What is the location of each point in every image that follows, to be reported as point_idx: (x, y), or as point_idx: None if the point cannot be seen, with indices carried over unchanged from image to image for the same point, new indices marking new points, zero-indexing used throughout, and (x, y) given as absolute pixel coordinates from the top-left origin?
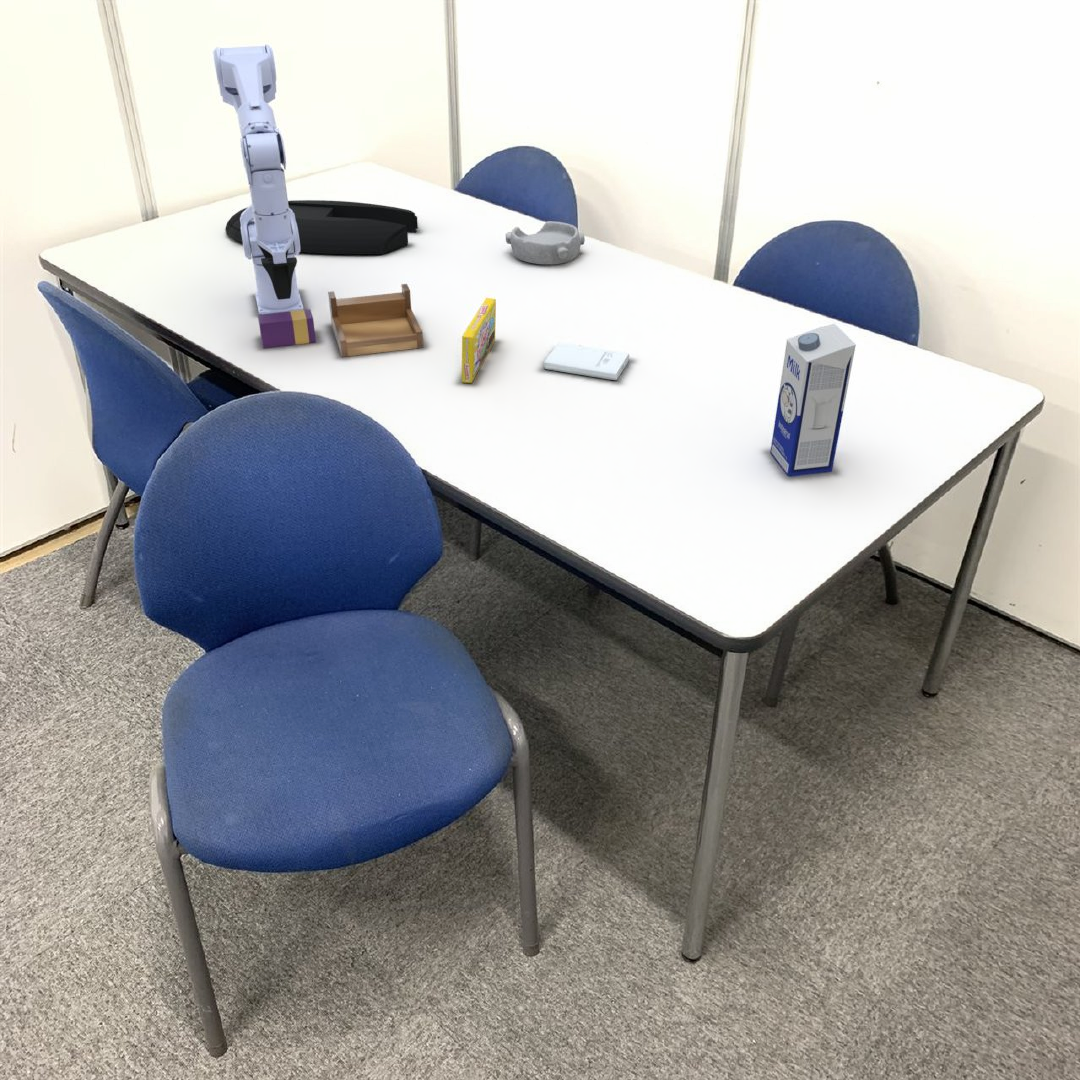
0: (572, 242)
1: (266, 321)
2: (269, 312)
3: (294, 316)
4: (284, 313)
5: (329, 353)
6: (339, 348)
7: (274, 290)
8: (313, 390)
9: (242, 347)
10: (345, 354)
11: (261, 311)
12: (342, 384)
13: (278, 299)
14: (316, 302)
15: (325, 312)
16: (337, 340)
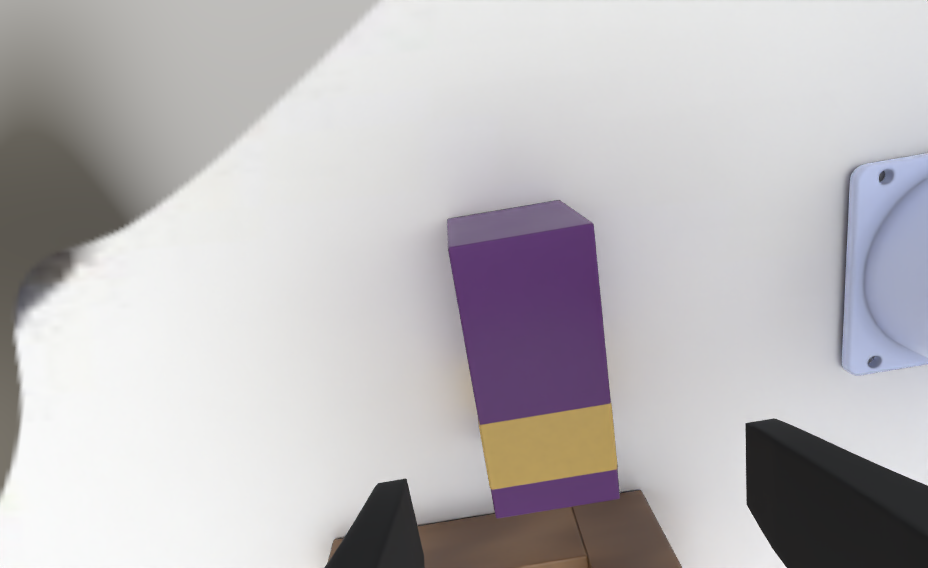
0: None
1: (480, 286)
2: (851, 219)
3: (530, 431)
4: (584, 376)
5: None
6: None
7: (350, 530)
8: (26, 456)
9: (472, 111)
10: None
11: (869, 179)
12: (91, 550)
13: (376, 487)
14: (918, 416)
15: None
16: (447, 536)
